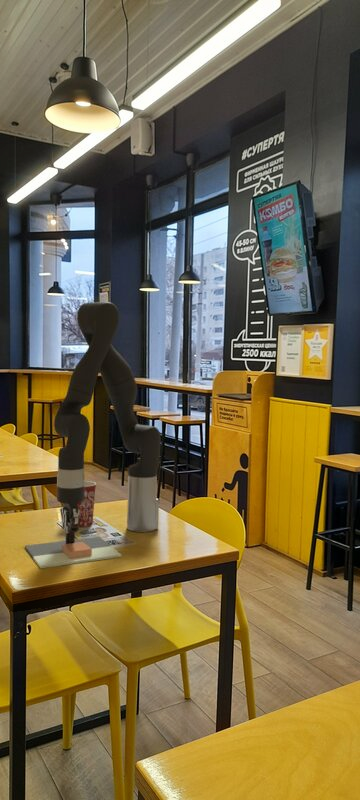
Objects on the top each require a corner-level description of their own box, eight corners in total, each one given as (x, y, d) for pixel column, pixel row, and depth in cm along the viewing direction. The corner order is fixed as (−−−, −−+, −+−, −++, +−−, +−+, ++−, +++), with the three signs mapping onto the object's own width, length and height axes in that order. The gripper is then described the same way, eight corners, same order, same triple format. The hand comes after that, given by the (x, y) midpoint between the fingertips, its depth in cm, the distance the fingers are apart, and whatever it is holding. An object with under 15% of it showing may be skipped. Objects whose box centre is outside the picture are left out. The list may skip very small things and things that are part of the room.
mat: (99, 538, 168) (99, 536, 168) (121, 556, 152) (121, 554, 152) (24, 547, 158) (24, 545, 158) (40, 568, 142) (40, 566, 142)
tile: (82, 541, 157) (91, 548, 151) (82, 548, 157) (91, 555, 151) (61, 544, 154) (70, 552, 148) (61, 551, 154) (70, 558, 148)
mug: (99, 526, 182) (100, 484, 181) (72, 529, 177) (73, 487, 177) (86, 516, 193) (87, 477, 192) (60, 519, 188) (61, 479, 188)
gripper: (91, 488, 151) (90, 551, 152) (77, 478, 163) (76, 537, 164) (63, 490, 148) (63, 554, 149) (51, 480, 160) (50, 540, 161)
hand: (70, 545), depth 157 cm, fingers closed
